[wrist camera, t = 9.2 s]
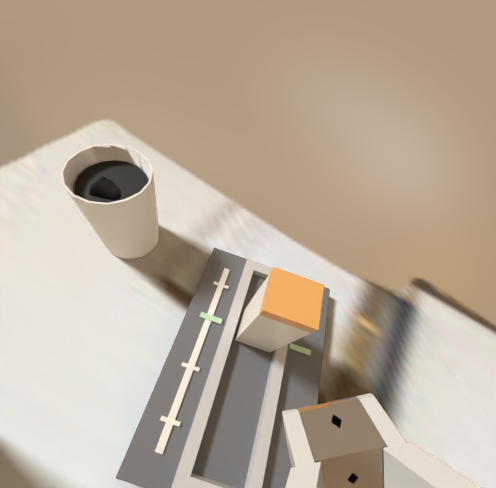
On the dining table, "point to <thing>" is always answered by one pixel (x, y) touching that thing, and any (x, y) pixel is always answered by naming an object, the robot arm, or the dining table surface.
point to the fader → (281, 311)
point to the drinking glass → (115, 197)
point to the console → (223, 393)
